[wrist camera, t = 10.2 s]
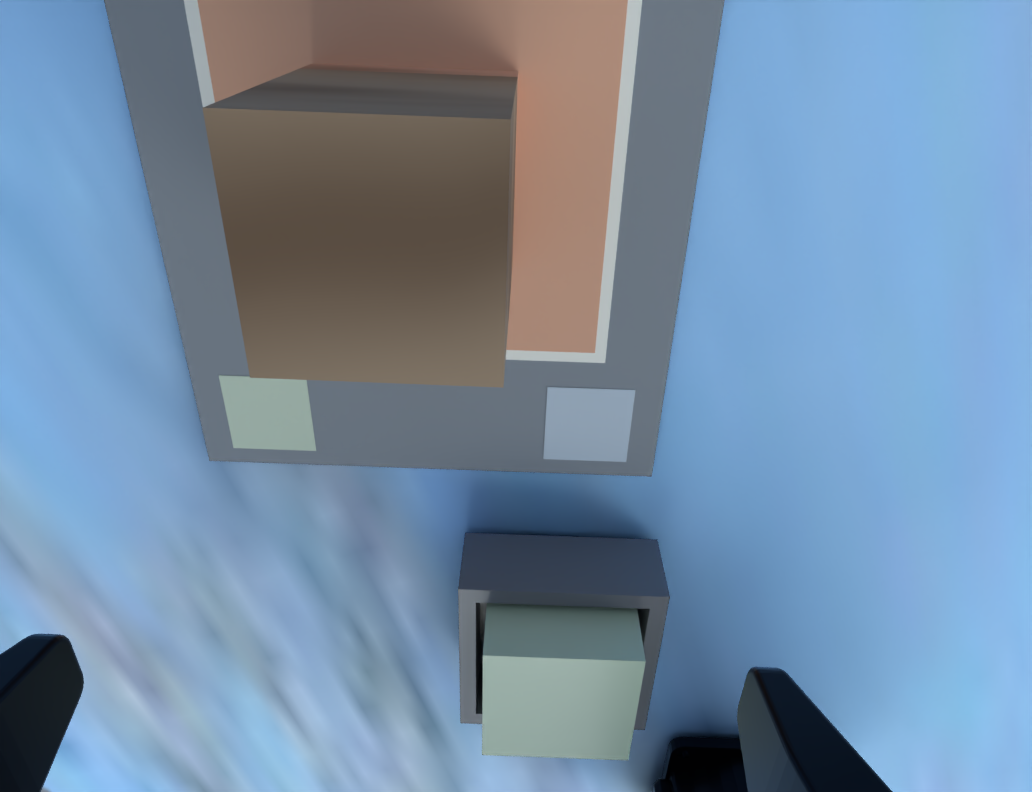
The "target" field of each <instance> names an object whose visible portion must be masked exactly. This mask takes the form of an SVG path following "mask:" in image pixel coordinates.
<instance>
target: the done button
mask: <svg viewBox="0 0 1032 792" xmlns="http://www.w3.org/2000/svg"><path fill="white" fill-rule="evenodd" d="M645 663H646V660H645V654H644V648H643V642H642V636H641V629H640V623H639V617H638V611H637V608H610V607H582V606H555V605H527V604H500V603H487V606H486V620H485V633H484V646H483V700H482V755H497V756H523V757H550V758H577V759H604V760H628V759H629V754H630V748H631V742H632V737H633V731H634V725H635V720H636V714H637V708H638V703H639V697H640V691H641V686H642V680H643V674H644V669H645Z"/></svg>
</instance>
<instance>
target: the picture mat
mask: <svg viewBox="0 0 1032 792" xmlns="http://www.w3.org/2000/svg"><path fill="white" fill-rule="evenodd" d="M104 2H105V7H106V11H107V15H108V20H109V24H110V28H111V33H112V37H113V42H114V46H115V50H116V55H117V59H118V63H119V68H120V72H121V76H122V81H123V85H124V90H125V94H126V98H127V103H128V107H129V111H130V116H131V120H132V124H133V129H134V133H135V138H136V142H137V146H138V151H139V155H140V159H141V164H142V168H143V172H144V177H145V181H146V186H147V190H148V194H149V199H150V203H151V207H152V212H153V216H154V220H155V225H156V229H157V234H158V238H159V242H160V247H161V251H162V255H163V260H164V264H165V268H166V273H167V277H168V282H169V286H170V290H171V295H172V299H173V303H174V308H175V312H176V316H177V321H178V325H179V330H180V334H181V338H182V343H183V347H184V351H185V356H186V360H187V364H188V369H189V373H190V378H191V382H192V386H193V391H194V395H195V399H196V404H197V408H198V412H199V417H200V421H201V426H202V430H203V434H204V439H205V443H206V447H207V452H208V456H209V460H210V461H231V462H259V463H287V464H315V465H344V466H372V467H400V468H428V469H456V470H484V471H512V472H540V473H568V474H596V475H624V476H652V470H653V464H654V457H655V451H656V444H657V438H658V431H659V425H660V418H661V412H662V405H663V399H664V392H665V385H666V379H667V372H668V366H669V359H670V353H671V346H672V340H673V333H674V327H675V320H676V314H677V307H678V300H679V294H680V287H681V281H682V274H683V268H684V261H685V255H686V248H687V242H688V235H689V229H690V222H691V216H692V209H693V202H694V196H695V189H696V183H697V176H698V170H699V163H700V157H701V150H702V144H703V137H704V131H705V124H706V117H707V111H708V104H709V98H710V91H711V85H712V78H713V72H714V65H715V59H716V52H717V46H718V39H719V32H720V26H721V19H722V13H723V6H724V0H104ZM312 63H313V64H339V65H366V66H392V67H418V68H445V69H471V70H498V71H518V103H517V135H516V167H515V199H514V231H513V263H512V280H511V293H510V307H509V320H508V334H507V347H506V361H505V374H504V388H501V387H476V386H450V385H424V384H398V383H373V382H347V381H321V380H296V379H270V378H250V375H249V369H248V363H247V358H246V352H245V346H244V341H243V335H242V329H241V324H240V318H239V312H238V307H237V301H236V295H235V290H234V284H233V278H232V273H231V267H230V261H229V256H228V250H227V244H226V239H225V233H224V227H223V222H222V216H221V210H220V205H219V199H218V193H217V188H216V182H215V176H214V171H213V165H212V159H211V154H210V148H209V142H208V137H207V131H206V125H205V120H204V114H203V107H205V106H208V105H210V104H213V103H215V102H218V101H220V100H223V99H225V98H228V97H230V96H233V95H235V94H238V93H240V92H242V91H245V90H247V89H250V88H252V87H255V86H257V85H260V84H262V83H265V82H267V81H270V80H272V79H275V78H277V77H280V76H282V75H285V74H287V73H289V72H292V71H294V70H297V69H299V68H302V67H304V66H307V65H309V64H312Z"/></svg>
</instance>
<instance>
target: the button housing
mask: <svg viewBox="0 0 1032 792" xmlns="http://www.w3.org/2000/svg"><path fill="white" fill-rule="evenodd" d="M669 599H670V596H669V591H668V587H667V582H666V577H665V573H664V568H663V564H662V559H661V554H660V550H659V545H658V541H657V540H653V539H625V538H597V537H570V536H542V535H514V534H486V533H465V538H464V547H463V555H462V563H461V571H460V579H459V587H458V605H459V663H460V721H461V723H471V724H482V700H483V646H484V633H485V620H486V606H487V603H500V604H527V605H555V606H582V607H610V608H637V611H638V617H639V623H640V629H641V636H642V642H643V648H644V654H645V660H646V663H645V669H644V674H643V680H642V686H641V691H640V697H639V703H638V708H637V714H636V720H635V725H634V730H645V726H646V720H647V715H648V710H649V705H650V699H651V694H652V689H653V683H654V678H655V673H656V667H657V662H658V657H659V652H660V646H661V641H662V636H663V630H664V625H665V620H666V614H667V609H668V604H669Z"/></svg>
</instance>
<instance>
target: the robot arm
mask: <svg viewBox="0 0 1032 792" xmlns="http://www.w3.org/2000/svg"><path fill="white" fill-rule="evenodd" d="M83 684H84V680H83V673H82V671H81V668H80V666H79V663H78V660H77V658H76V655H75V653H74V650H73V648H72V645H71V642H70V641H69V639H68V638H67V637H65V636H64V635H58V634H34V635H31V636H28V637H26V638H25V639H23V640H21V641H20V642H18V643H17V644H15V645H14V646H12V647H11V648H9V649H8V650H6V651H5V652H3V653H2V654H0V792H41V790H42V787H43V785H44V783H45V780H46V778H47V775H48V773H49V771H50V768H51V766H52V764H53V761H54V759H55V756H56V754H57V752H58V749H59V747H60V744H61V742H62V740H63V737H64V735H65V733H66V730H67V728H68V725H69V723H70V721H71V718H72V716H73V713H74V711H75V709H76V706H77V704H78V702H79V699H80V697H81V694H82V690H83ZM737 721H738V730H739V736H740V739H726V738H700V737H678V738H675V739H673V740H672V741H671V742H670V743H669V746H668V751H667V756H666V760H665V765H664V769H663V774H662V778H661V779H658V780H657V781H656V782H655V783H654V785H653V789H652V792H892V791H891V790H890V789H889V787H888V786H887V785H886V784H885V783H884V782H883V781H882V780H881V778H880V777H879V776H878V775H877V774H876V773H875V772H874V771H873V769H872V768H871V767H870V766H869V765H868V764H867V763H866V762H865V760H864V759H863V758H862V757H861V756H860V755H859V754H858V753H857V751H856V750H855V749H854V748H853V747H852V746H851V745H850V744H849V742H848V741H847V740H846V739H845V738H844V737H843V736H842V735H841V733H840V732H839V731H838V730H837V729H836V728H835V727H834V726H833V724H832V723H831V722H830V721H829V720H828V719H827V718H826V717H825V715H824V714H823V713H822V712H821V711H820V710H819V709H818V708H817V706H816V705H815V704H814V703H813V702H812V701H811V700H810V699H809V697H808V696H807V695H806V694H805V693H804V692H803V691H802V690H801V688H800V687H799V686H798V685H797V684H796V683H795V682H794V681H793V679H792V678H791V677H790V676H789V675H788V674H787V673H786V672H785V671H783V670H782V669H779V668H769V667H753V668H751V669H750V670H749V672H748V674H747V677H746V680H745V684H744V688H743V691H742V695H741V698H740V702H739V705H738V712H737Z"/></svg>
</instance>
